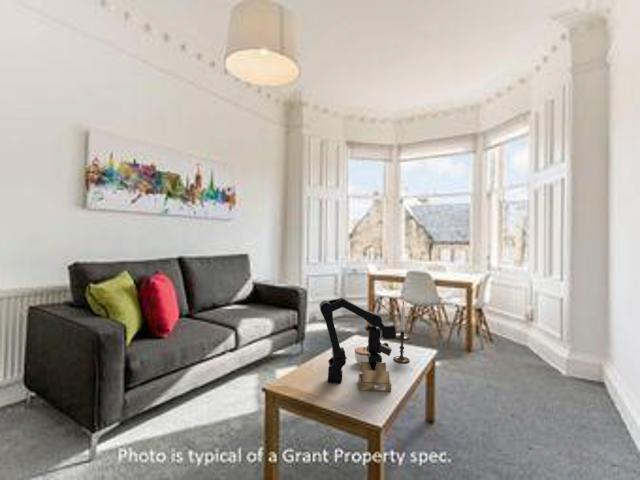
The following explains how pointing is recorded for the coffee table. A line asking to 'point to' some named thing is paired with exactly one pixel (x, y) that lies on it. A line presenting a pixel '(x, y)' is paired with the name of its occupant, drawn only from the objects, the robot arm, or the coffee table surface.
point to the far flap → (378, 367)
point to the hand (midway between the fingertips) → (373, 370)
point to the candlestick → (402, 337)
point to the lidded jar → (361, 355)
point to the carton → (373, 385)
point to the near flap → (375, 376)
